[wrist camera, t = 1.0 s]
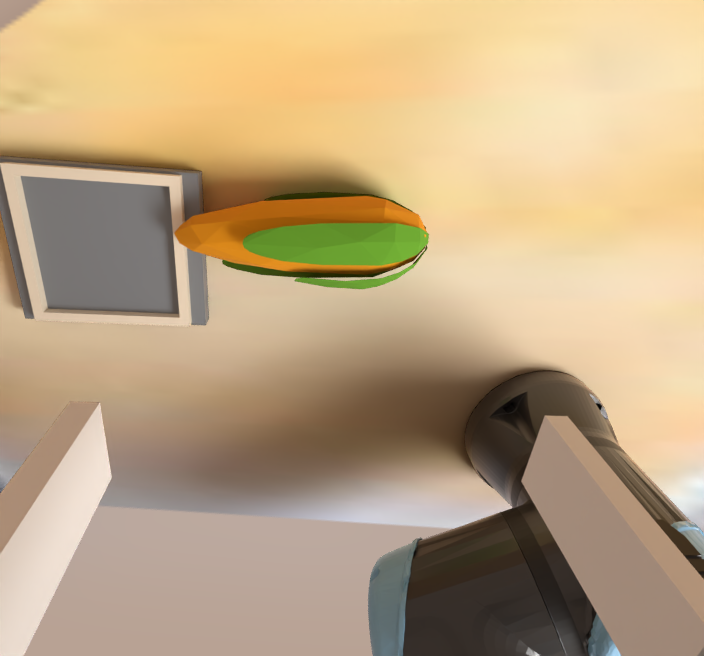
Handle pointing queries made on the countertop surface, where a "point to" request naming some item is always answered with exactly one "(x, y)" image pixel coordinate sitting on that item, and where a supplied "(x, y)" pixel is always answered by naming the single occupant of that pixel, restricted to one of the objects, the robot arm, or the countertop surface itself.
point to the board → (103, 242)
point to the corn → (312, 237)
